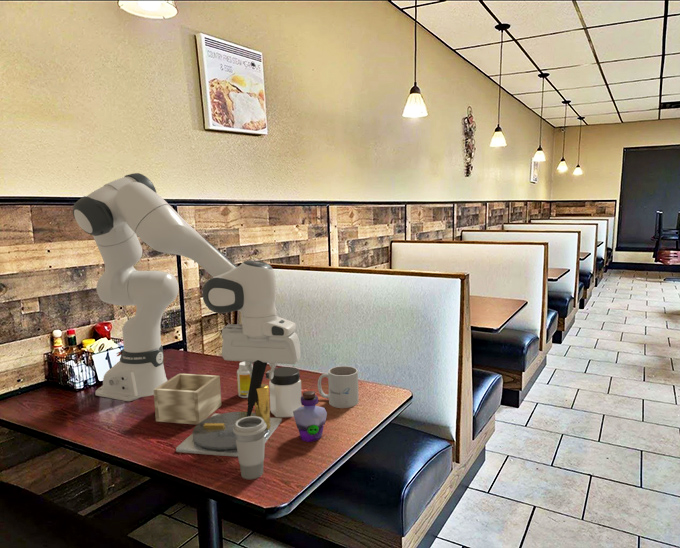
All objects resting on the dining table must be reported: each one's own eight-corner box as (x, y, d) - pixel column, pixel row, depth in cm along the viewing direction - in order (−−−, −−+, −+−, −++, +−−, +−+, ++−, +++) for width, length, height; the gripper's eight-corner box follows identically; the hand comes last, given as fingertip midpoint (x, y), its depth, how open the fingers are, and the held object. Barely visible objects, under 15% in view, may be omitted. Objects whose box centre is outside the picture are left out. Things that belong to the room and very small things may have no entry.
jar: (306, 414, 134) (304, 373, 132) (279, 421, 130) (277, 379, 128) (293, 403, 141) (291, 364, 140) (267, 409, 138) (265, 369, 136)
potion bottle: (305, 450, 114) (303, 402, 112) (286, 437, 121) (284, 391, 119) (335, 439, 119) (333, 393, 117) (315, 427, 126) (314, 383, 124)
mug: (364, 401, 142) (363, 369, 140) (347, 412, 135) (347, 377, 133) (330, 393, 149) (329, 362, 147) (313, 403, 142) (311, 370, 140)
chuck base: (176, 451, 115) (176, 447, 115) (214, 416, 134) (214, 413, 134) (253, 459, 110) (253, 455, 110) (281, 421, 129) (281, 418, 129)
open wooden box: (155, 421, 132) (153, 389, 130) (181, 402, 144) (179, 373, 143) (199, 424, 129) (197, 392, 128) (221, 405, 141) (219, 375, 140)
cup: (243, 487, 99) (240, 432, 98) (230, 473, 105) (227, 421, 103) (274, 475, 103) (272, 422, 102) (260, 463, 109) (257, 412, 107)
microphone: (232, 414, 115) (251, 334, 123) (242, 419, 120) (260, 342, 128) (253, 417, 113) (271, 336, 122) (262, 421, 118) (279, 343, 127)
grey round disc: (181, 449, 113) (177, 402, 111) (206, 415, 132) (204, 373, 130) (262, 449, 112) (260, 401, 110) (277, 415, 131) (275, 373, 129)
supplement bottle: (259, 395, 148) (258, 363, 147) (243, 400, 145) (241, 367, 143) (250, 390, 153) (249, 359, 151) (234, 395, 149) (233, 363, 148)
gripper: (216, 326, 121) (218, 379, 123) (294, 330, 116) (295, 385, 118) (227, 320, 127) (229, 371, 129) (301, 323, 122) (303, 376, 124)
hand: (261, 378), depth 123 cm, fingers closed on microphone, 3 cm apart
